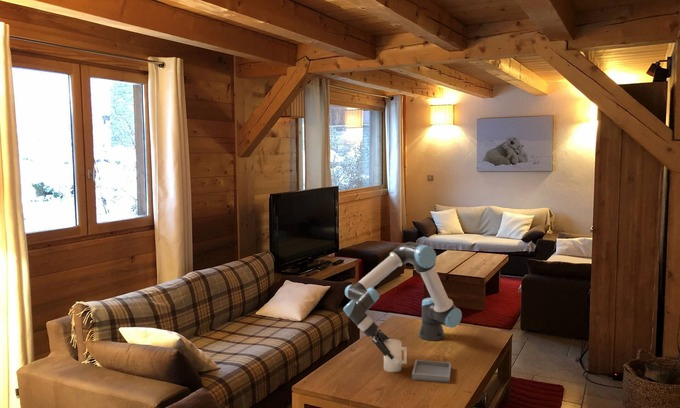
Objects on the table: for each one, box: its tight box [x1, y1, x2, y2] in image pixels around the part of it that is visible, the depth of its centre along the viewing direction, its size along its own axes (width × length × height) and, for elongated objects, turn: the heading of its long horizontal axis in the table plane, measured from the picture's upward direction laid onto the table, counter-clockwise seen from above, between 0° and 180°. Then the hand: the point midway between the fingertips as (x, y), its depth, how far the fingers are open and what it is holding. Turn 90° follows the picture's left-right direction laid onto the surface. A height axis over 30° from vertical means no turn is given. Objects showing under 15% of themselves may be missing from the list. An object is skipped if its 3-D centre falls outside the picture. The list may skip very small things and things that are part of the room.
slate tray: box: [411, 359, 452, 384], centre depth 281 cm, size 18×18×3 cm
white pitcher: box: [383, 338, 408, 373], centre depth 287 cm, size 9×12×14 cm
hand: (398, 359), depth 287 cm, fingers closed on white pitcher, 9 cm apart
